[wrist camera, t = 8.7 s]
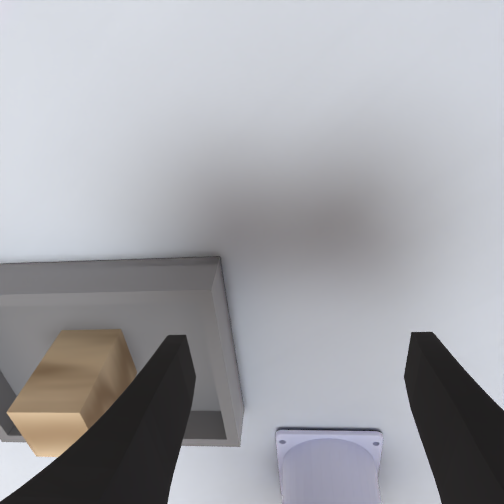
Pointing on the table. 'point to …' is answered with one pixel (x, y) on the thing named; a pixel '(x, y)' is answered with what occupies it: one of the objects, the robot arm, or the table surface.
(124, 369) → the maple block
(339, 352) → the table surface
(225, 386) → the tray
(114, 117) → the table surface
